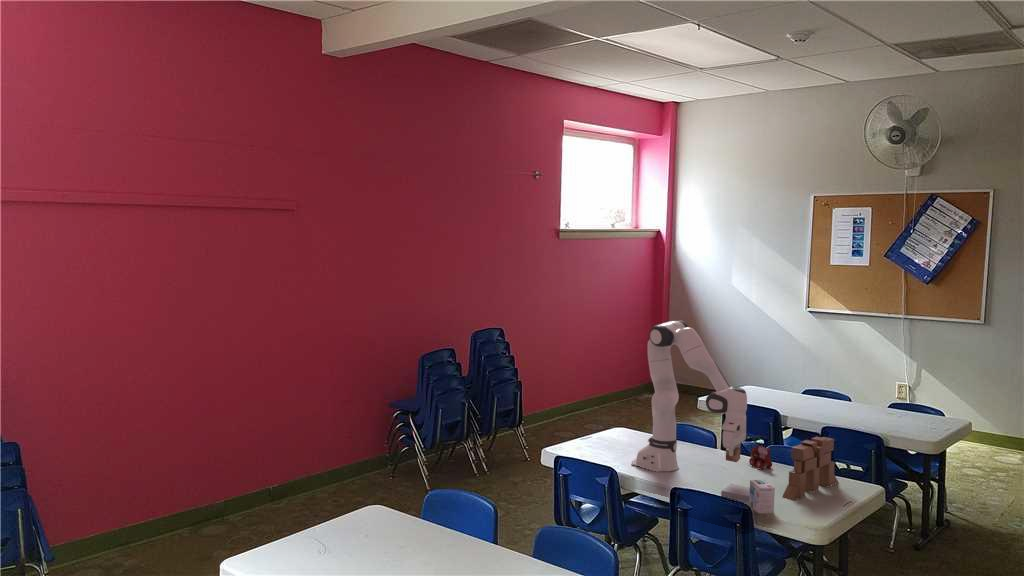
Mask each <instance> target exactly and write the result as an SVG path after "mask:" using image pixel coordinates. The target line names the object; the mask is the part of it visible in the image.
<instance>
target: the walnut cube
mask: <svg viewBox="0 0 1024 576" xmlns="http://www.w3.org/2000/svg"><path fill="white" fill-rule="evenodd" d="M733 451H734V455H733V456H729V450H728V448H725V461H728V462H732V463H738V462H739V461H740V460H741V447H740V448H737V447H735V446H734V449H733Z"/></svg>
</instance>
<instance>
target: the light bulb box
mask: <svg viewBox="0 0 1024 576" xmlns="http://www.w3.org/2000/svg"><path fill="white" fill-rule="evenodd" d="M749 487H750V495H749V502H748V505H749V506H750V507H751V508H752V509H753V511H756V513H757V514H774V513H775V491H776V487H775V486H773V485H772V484H771V483H769V481H767V480H766V479H750V480H749Z"/></svg>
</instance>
